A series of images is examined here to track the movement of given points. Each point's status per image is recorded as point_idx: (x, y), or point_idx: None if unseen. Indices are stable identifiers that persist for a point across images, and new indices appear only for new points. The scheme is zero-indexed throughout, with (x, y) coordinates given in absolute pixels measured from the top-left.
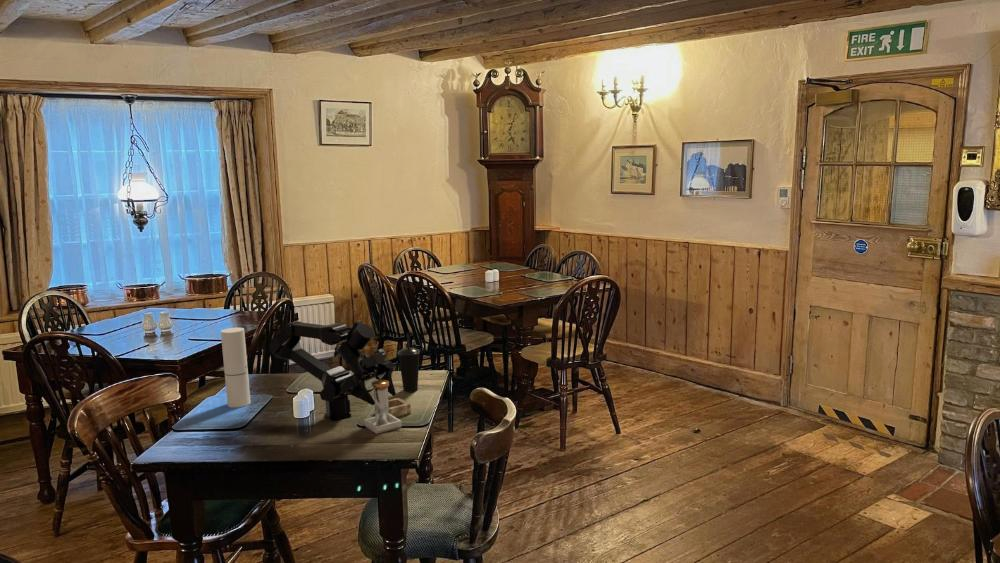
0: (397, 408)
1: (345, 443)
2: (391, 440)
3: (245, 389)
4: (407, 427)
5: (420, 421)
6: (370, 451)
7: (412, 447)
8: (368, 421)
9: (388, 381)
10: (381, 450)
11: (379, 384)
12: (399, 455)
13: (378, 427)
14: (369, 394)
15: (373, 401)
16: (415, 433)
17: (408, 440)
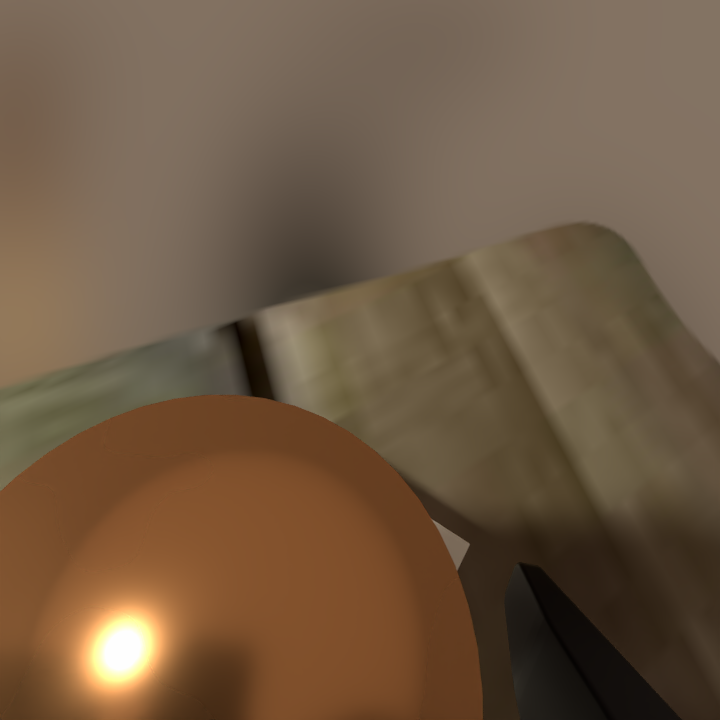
0: None
1: (716, 690)
2: (501, 389)
3: None
4: (277, 397)
5: (156, 368)
6: (694, 423)
7: (525, 250)
8: None
9: (55, 462)
10: (644, 371)
11: (395, 576)
12: (635, 263)
13: (450, 532)
14: (628, 709)
15: (552, 582)
16: (354, 312)
17: (458, 303)
